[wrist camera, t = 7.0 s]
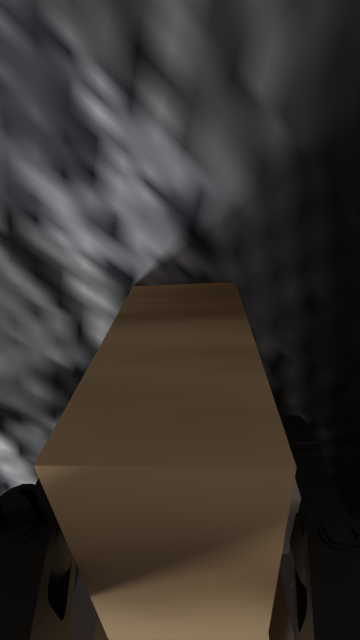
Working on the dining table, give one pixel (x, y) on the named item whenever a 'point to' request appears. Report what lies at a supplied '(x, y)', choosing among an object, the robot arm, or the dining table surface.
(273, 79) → the dining table surface
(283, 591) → the chute
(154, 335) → the tan wooden block
